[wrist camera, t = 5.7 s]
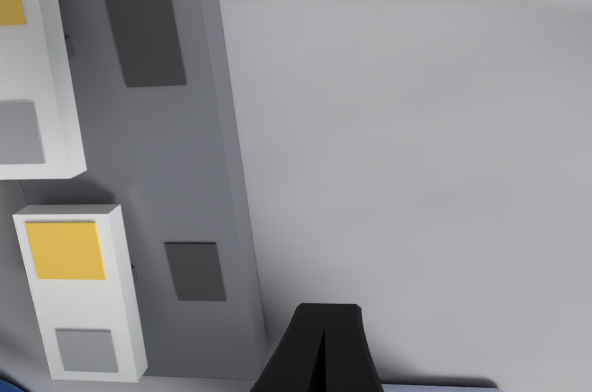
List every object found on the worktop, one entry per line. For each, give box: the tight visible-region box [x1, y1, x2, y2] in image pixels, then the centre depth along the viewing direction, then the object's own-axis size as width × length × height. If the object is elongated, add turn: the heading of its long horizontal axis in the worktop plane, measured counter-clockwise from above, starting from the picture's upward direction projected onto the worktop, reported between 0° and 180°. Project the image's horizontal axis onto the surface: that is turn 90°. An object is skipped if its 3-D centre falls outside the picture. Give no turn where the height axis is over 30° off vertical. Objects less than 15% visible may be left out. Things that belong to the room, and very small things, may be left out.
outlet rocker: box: [0, 0, 87, 180], centre depth 16 cm, size 7×4×1 cm, turn 4°
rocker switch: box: [13, 204, 148, 383], centre depth 21 cm, size 7×4×1 cm, turn 4°
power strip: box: [19, 0, 268, 380], centre depth 20 cm, size 21×8×3 cm, turn 4°
